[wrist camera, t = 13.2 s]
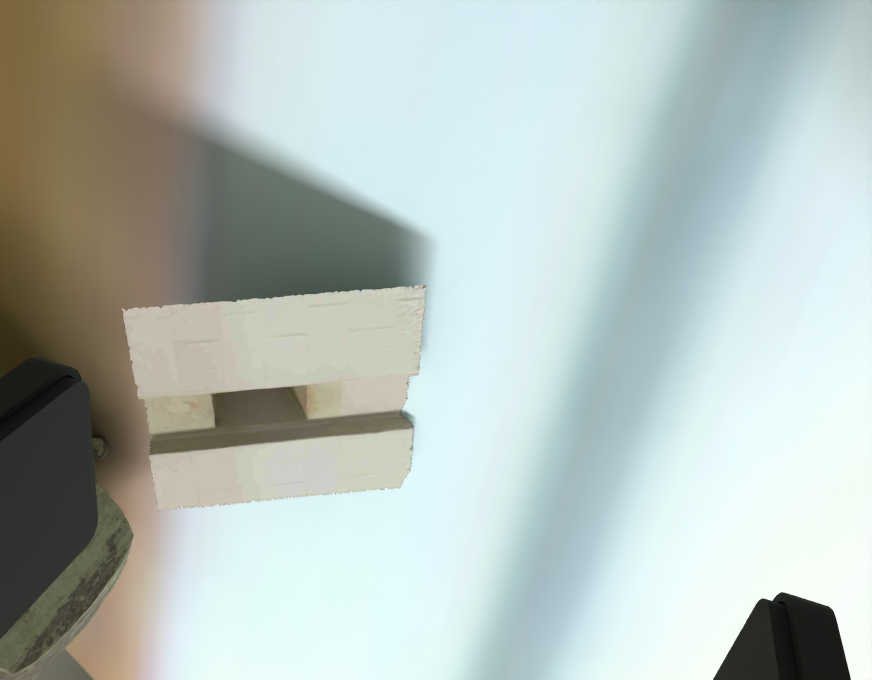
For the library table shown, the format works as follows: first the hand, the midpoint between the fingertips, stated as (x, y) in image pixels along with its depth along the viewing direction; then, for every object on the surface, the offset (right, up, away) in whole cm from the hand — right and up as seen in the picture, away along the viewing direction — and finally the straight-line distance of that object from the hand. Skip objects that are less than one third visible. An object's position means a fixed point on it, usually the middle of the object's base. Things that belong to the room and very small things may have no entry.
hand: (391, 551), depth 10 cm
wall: (-7, +1, +37) cm, 38 cm away
